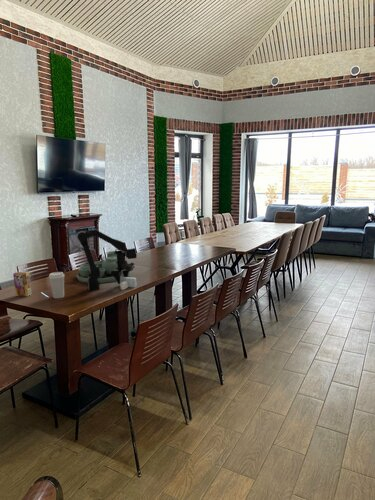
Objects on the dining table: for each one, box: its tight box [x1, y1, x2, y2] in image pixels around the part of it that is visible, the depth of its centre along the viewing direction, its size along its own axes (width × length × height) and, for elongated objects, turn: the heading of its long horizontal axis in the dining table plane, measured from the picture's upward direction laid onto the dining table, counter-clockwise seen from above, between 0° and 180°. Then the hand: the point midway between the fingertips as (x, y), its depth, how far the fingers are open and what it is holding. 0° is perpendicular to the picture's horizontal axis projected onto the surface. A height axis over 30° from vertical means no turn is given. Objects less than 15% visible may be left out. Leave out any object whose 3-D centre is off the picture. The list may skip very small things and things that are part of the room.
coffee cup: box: [48, 271, 66, 299], centre depth 229 cm, size 10×10×15 cm
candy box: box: [12, 271, 33, 297], centre depth 234 cm, size 9×4×15 cm, turn 82°
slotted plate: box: [118, 276, 138, 288], centre depth 248 cm, size 12×2×6 cm, turn 69°
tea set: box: [76, 250, 131, 284], centre depth 277 cm, size 40×40×16 cm
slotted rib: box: [120, 281, 130, 291], centre depth 248 cm, size 16×2×4 cm, turn 160°
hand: (122, 282), depth 249 cm, fingers open, 9 cm apart
